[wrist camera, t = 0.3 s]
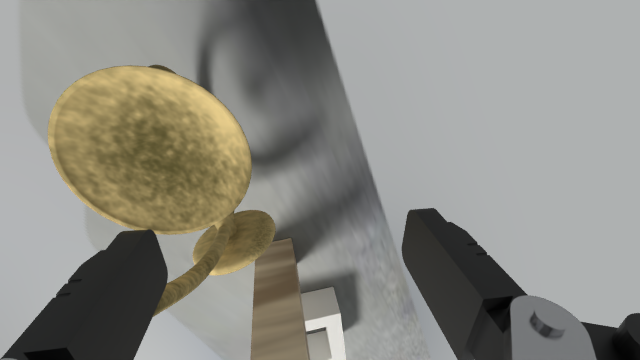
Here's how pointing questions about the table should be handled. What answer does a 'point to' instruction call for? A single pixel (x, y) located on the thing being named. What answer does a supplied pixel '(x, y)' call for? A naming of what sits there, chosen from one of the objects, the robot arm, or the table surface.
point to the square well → (323, 325)
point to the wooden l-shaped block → (278, 306)
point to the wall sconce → (161, 165)
